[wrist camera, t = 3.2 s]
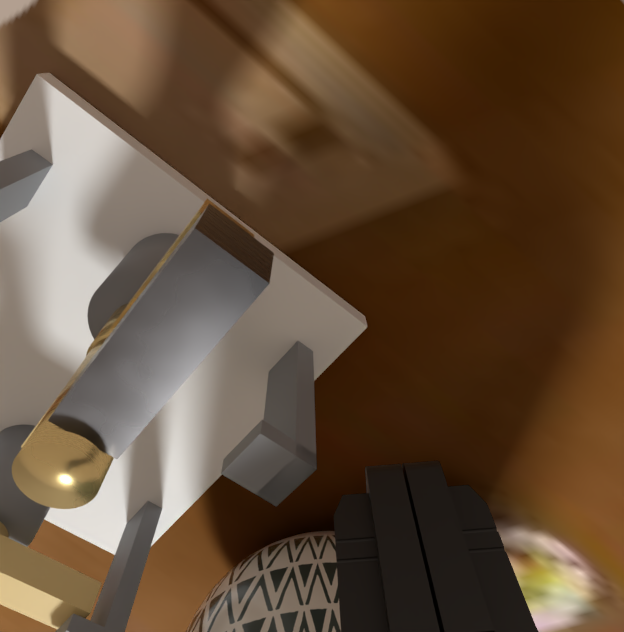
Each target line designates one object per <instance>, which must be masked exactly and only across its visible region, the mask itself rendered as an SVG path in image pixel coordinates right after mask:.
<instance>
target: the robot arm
mask: <svg viewBox="0 0 624 632" xmlns="http://www.w3.org/2000/svg"><path fill="white" fill-rule="evenodd" d="M365 475H366V491H367V493H363V494H351V495H342V498H341V500H340V502H339V505H338V507H337V509H336V512H335V514H334V530H335V546H336V561H337V577H338V592H339V607H340V623H341V632H538V630H537V628H536V626H535V623H534V621H533V618H532V616H531V613H530V611H529V608H528V606H527V603H526V601H525V598H524V596H523V593H522V591H521V588H520V586H519V583H518V581H517V578H516V576H515V573H514V571H513V568H512V566H511V563H510V561H509V558H508V556H507V553H506V552H505V551H504V546H503V543H502V541H501V538H500V536H499V533H498V532H497V530H496V526H495V523H494V520H493V518H492V515H491V513H490V510H489V508H488V505H487V504H486V503H485V502H484V500H483V499H482V498H481V497H480V496H479V495H478V494H477V493H476V492H475V491H474V490H473V489H472V488H471V487H470V486H469V485H463V486H450V487H448V486H447V483H446V479H445V476H444V473H443V470H442V467H441V465H440V462H439V461H427V462H415V463H403V464H402V467H401V464H392V465H379V466H367V467H365Z"/></svg>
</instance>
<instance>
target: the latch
mask: <svg viewBox="0 0 624 632" xmlns="http://www.w3.org/2000/svg"><path fill="white" fill-rule="evenodd" d="M273 256H274V253H273V252H272V251H271V250H270V249H268V248H267V247H266V246H264V245H263V244H262V243H260V242H259V241H258V240H256V239H255V238H254V234H253V233H251V232H250V231H249V230H248V229H246V228H245V227H244V226H242V225H241V224H240V223H238V222H237V221H236V220H235V219H233V218H232V217H231V216H229V215H228V214H227V213H225V212H224V211H223V210H222V209H220V208H219V207H218V206H216V205H215V204H214V203H212V202H211V201H210V200H209V199H206V200H205V202H204V203H203V204H202V206H201V207H200V208H199V210H198V211H197V212H196V214H195V215H194V216H193V218H192V219H191V220H190V222H189V223H188V224H187V226H186V227H185V228H184V230H183V231H182V232H181V234H180V235H179V236H178V238H177V239H176V240H175V242H174V243H173V244H172V246H171V247H170V248H169V249H168V251H167V252H166V253H165V255H164V256H163V257H162V259H161V260H160V261H159V263H158V264H157V265H156V267H155V268H154V269H153V271H152V272H151V273H150V275H149V276H148V277H147V279H146V280H145V281H144V283H143V284H142V285H141V287H140V288H139V289H138V291H137V292H136V293H135V294H134V296H133V297H132V298H131V300H130V301H129V302H128V303H127V304H124V305H122V306H120V307H119V308H118V309H116V310H115V312H114V313H113V314H112V316H111V317H110V318H109V320H108V321H107V323H106V324H105V325H104V327H103V328H102V330H101V331H100V332H99V334H98V335H97V337H96V338H95V339H94V341H93V342H92V344H91V345H90V347H89V348H88V351H87V354H86V357H85V359H84V360H83V362H82V363H81V365H80V366H79V367H78V369H77V370H76V372H75V373H74V375H73V376H72V377H71V379H70V380H69V382H68V383H67V385H66V386H65V387H64V388H63V390H62V391H61V392H60V394H59V395H58V396H57V398H56V399H55V400H54V402H53V403H52V404H51V406H50V407H49V408H48V410H47V411H46V412H45V414H44V415H43V416H42V418H41V419H40V420H39V422H38V423H37V424H36V426H35V427H34V429H33V430H32V432H31V433H30V434H29V436H28V437H27V439H26V440H25V441H24V443H23V444H22V446H21V447H22V449H21V450H20V452H19V453H18V454H17V456H16V457H15V459H14V461H13V464H12V476H13V479H14V481H15V483H16V485H17V487H18V488H19V489H20V490H21V491H22V493H24V494H25V495H26V496H27V497H28V498H30V499H31V500H33V501H35V502H37V503H39V504H41V505H44V506H47V507H51V508H56V509H73V508H77V507H81V506H83V505H85V504H87V503H89V502H90V501H92V500H93V499H94V498H95V496H96V495H97V494H98V491H99V489H100V487H101V485H102V483H103V481H104V479H105V476H106V474H107V472H108V470H109V468H110V466H111V463H112V461H113V459H114V458H115V459H118V458H119V457H120V456H121V455H122V453H123V452H124V451H125V450H126V449H127V448H128V447H129V445H130V444H131V443H132V442H133V441H134V440H135V438H136V437H137V436H138V435H139V434H140V433H141V431H142V430H143V429H144V428H145V427H146V426H147V425H148V423H149V422H150V421H151V420H152V419H153V418H154V416H155V415H156V414H157V413H158V412H159V411H160V410H161V408H162V407H163V406H164V405H165V404H166V403H167V401H168V400H169V399H170V398H171V397H172V396H173V395H174V393H175V392H176V391H177V390H178V389H179V388H180V386H181V385H182V384H183V383H184V382H185V381H186V379H187V378H188V377H189V376H190V375H191V374H192V373H193V371H194V370H195V369H196V368H197V367H198V366H199V364H200V363H201V362H202V361H203V360H204V359H205V358H206V356H207V355H208V354H209V353H210V352H211V351H212V349H213V348H214V347H215V346H216V345H217V344H218V343H219V341H220V340H221V339H222V338H223V337H224V336H225V334H226V333H227V332H228V331H229V330H230V329H231V327H232V326H233V325H234V324H235V323H236V322H237V321H238V319H239V318H240V317H241V316H242V315H243V314H244V312H245V311H246V310H247V309H248V308H249V307H250V306H251V304H252V303H253V302H254V301H255V300H256V299H257V297H258V296H259V295H260V294H261V293H262V292H263V290H264V289H265V288H266V287H267V286H268V285H269V284H270V277H271V270H272V263H273Z"/></svg>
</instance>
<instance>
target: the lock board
mask: <svg viewBox="0 0 624 632" xmlns="http://www.w3.org/2000/svg"><path fill="white" fill-rule="evenodd" d="M206 199H209V200H210V201H211V202H212V203H214V204H215V205H216V206H218V207H219V208H220V209H222V210H223V211H224V212H225V213H227V214H228V215H229V216H231V217H232V218H233V219H235V220H236V221H237V222H238V223H240V224H241V225H242V226H244V227H245V228H246V229H248V230H249V231H250V232H251V233H253V234H254V238H255V239H256V240H258V241H259V242H260V243H262V244H263V245H264V246H266V247H267V248H268V249H270V250H271V251H272V252H273V253H274V256H273V263H272V270H271V277H270V284H269V285H268V286H267V287H266V288H265V289H264V290H263V292H262V293H261V294H260V295H259V296H258V297H257V299H256V300H255V301H254V302H253V303H252V304H251V306H250V307H249V308H248V309H247V310H246V311H245V312H244V314H243V315H242V316H241V317H240V318H239V319H238V321H237V322H236V323H235V324H234V325H233V326H232V327H231V329H230V330H229V331H228V332H227V333H226V334H225V336H224V337H223V338H222V339H221V340H220V341H219V343H218V344H217V345H216V346H215V347H214V348H213V349H212V351H211V352H210V353H209V354H208V355H207V356H206V358H205V359H204V360H203V361H202V362H201V363H200V364H199V366H198V367H197V368H196V369H195V370H194V371H193V373H192V374H191V375H190V376H189V377H188V378H187V379H186V381H185V382H184V383H183V384H182V385H181V386H180V388H179V389H178V390H177V391H176V392H175V393H174V395H173V396H172V397H171V398H170V399H169V400H168V401H167V403H166V404H165V405H164V406H163V407H162V408H161V410H160V411H159V412H158V413H157V414H156V415H155V416H154V418H153V419H152V420H151V421H150V422H149V423H148V425H147V426H146V427H145V428H144V429H143V430H142V431H141V433H140V434H139V435H138V436H137V437H136V438H135V440H134V441H133V442H132V443H131V444H130V445H129V447H128V448H127V449H126V450H125V451H124V452H123V453H122V455H121V456H120V457H119V458H118V459H115V458H114V459H113V461H112V463H111V466H110V468H109V470H108V472H107V474H106V476H105V479H104V481H103V483H102V485H101V487H100V489H99V491H98V494H97V495H96V496H95V498H94V499H93V500H92V501H90V502H89V503H87V504H85V505H83V506H81V507H77V508H73V509H56V508H51V507H47V506H44V505H41V504H39V503H37V502H35V501H33V500H31V499H30V498H28V497H27V496H26V495H25V494H24V493H22V491H21V490H20V489H19V488H18V487H17V485H16V483H15V481H14V479H13V476H12V464H13V461H14V459H15V457H16V456H17V454H18V453H19V452H20V450H21V449H22V447H21V446H22V444H23V443H24V441H25V440H26V439H27V437H28V436H29V434H30V433H31V432H32V430H33V429H34V427H35V426H36V424H37V423H38V422H39V420H40V419H41V418H42V416H43V415H44V414H45V412H46V411H47V410H48V408H49V407H50V406H51V404H52V403H53V402H54V400H55V399H56V398H57V396H58V395H59V394H60V392H61V391H62V390H63V388H64V387H65V386H66V385H67V383H68V382H69V380H70V379H71V377H72V376H73V375H74V373H75V372H76V370H77V369H78V367H79V366H80V365H81V363H82V362H83V360H84V359H85V357H86V354H87V351H88V348H89V347H90V345H91V344H92V342H93V341H94V339H95V338H96V337H97V335H98V334H99V332H100V331H101V330H102V328H103V327H104V325H105V324H106V323H107V321H108V320H109V318H110V317H111V316H112V314H113V313H114V312H115V310H116V309H118V308H119V307H120V306H122V305H124V304H127V303H128V302H129V301H130V300H131V298H132V297H133V296H134V294H135V293H136V292H137V291H138V289H139V288H140V287H141V285H142V284H143V283H144V281H145V280H146V279H147V277H148V276H149V275H150V273H151V272H152V271H153V269H154V268H155V267H156V265H157V264H158V263H159V261H160V260H161V259H162V257H163V256H164V255H165V253H166V252H167V251H168V249H169V248H170V247H171V246H172V244H173V243H174V242H175V240H176V239H177V238H178V236H179V235H180V234H181V232H182V231H183V230H184V228H185V227H186V226H187V224H188V223H189V222H190V220H191V219H192V218H193V216H194V215H195V214H196V212H197V211H198V210H199V208H200V207H201V206H202V204H203V203H204V202H205V200H206ZM366 328H367V322H366V318H365V316H364V315H363V314H362V313H360V312H359V311H358V310H356V309H355V308H354V307H352V306H351V305H350V304H349V303H347V302H346V301H345V300H343V299H342V298H341V297H340V296H338V295H337V294H336V293H334V292H333V291H332V290H330V289H329V288H328V287H327V286H325V285H324V284H323V283H321V282H320V281H319V280H317V279H316V278H315V277H314V276H312V275H311V274H310V273H308V272H307V271H306V270H305V269H303V268H302V267H301V266H299V265H298V264H297V263H295V262H294V261H293V260H292V259H290V258H289V257H288V256H286V255H285V254H284V253H282V252H281V251H280V250H279V249H277V248H276V247H275V246H273V245H272V244H271V243H269V242H268V241H267V240H266V239H264V238H263V237H262V236H260V235H259V234H258V233H257V232H255V231H254V230H253V229H251V228H250V227H249V226H247V225H246V224H245V223H244V222H242V221H241V220H240V219H238V218H237V217H236V216H234V215H233V214H232V213H231V212H229V211H228V210H227V209H225V208H224V207H223V206H222V205H220V204H219V203H218V202H216V201H215V200H214V199H212V198H211V197H210V196H209V195H207V194H206V193H205V192H203V191H202V190H201V189H199V188H198V187H197V186H196V185H194V184H193V183H192V182H190V181H189V180H188V179H187V178H185V177H184V176H183V175H181V174H180V173H179V172H177V171H176V170H175V169H174V168H172V167H171V166H170V165H168V164H167V163H166V162H164V161H163V160H162V159H161V158H159V157H158V156H157V155H155V154H154V153H153V152H151V151H150V150H149V149H148V148H146V147H145V146H144V145H142V144H141V143H140V142H139V141H137V140H136V139H135V138H133V137H132V136H131V135H129V134H128V133H127V132H126V131H124V130H123V129H122V128H120V127H119V126H118V125H116V124H115V123H114V122H113V121H111V120H110V119H109V118H107V117H106V116H105V115H104V114H102V113H101V112H100V111H98V110H97V109H96V108H94V107H93V106H92V105H91V104H89V103H88V102H87V101H85V100H84V99H83V98H81V97H80V96H79V95H78V94H76V93H75V92H74V91H72V90H71V89H70V88H69V87H67V86H66V85H65V84H63V83H62V82H61V81H59V80H58V79H57V78H56V77H54V76H53V75H52V74H50V73H42V74H36V76H35V78H34V80H33V82H32V83H31V85H30V87H29V89H28V90H27V92H26V94H25V96H24V98H23V99H22V101H21V103H20V105H19V106H18V108H17V110H16V112H15V114H14V115H13V117H12V119H11V121H10V123H9V124H8V126H7V128H6V130H5V131H4V133H3V135H2V137H1V139H0V604H1V605H3V606H5V607H8V608H10V609H12V610H15V611H17V612H19V613H21V614H24V615H26V616H28V617H30V618H33V619H35V620H37V621H40V622H42V623H44V624H46V625H49V626H51V627H53V628H55V629H58V630H57V631H56V632H125V629H126V626H127V622H128V619H129V616H130V613H131V609H132V606H133V603H134V599H135V596H136V593H137V590H138V586H139V583H140V580H141V577H142V573H143V570H144V567H145V563H146V560H147V557H148V554H149V550H150V547H151V546H152V545H153V544H154V543H155V542H156V541H157V540H158V539H159V538H160V537H161V536H162V535H163V534H164V533H165V532H166V531H167V530H168V529H169V528H170V527H171V526H172V525H173V524H174V522H175V521H176V520H177V519H178V518H179V517H180V516H181V515H182V514H183V513H184V512H185V511H186V510H187V509H188V508H189V507H190V506H191V505H192V504H193V503H194V502H195V501H196V500H197V499H198V498H199V497H200V496H201V495H202V494H203V493H204V492H205V491H206V490H207V489H208V488H209V487H210V486H211V485H212V484H213V483H214V482H215V481H216V480H217V479H218V478H219V477H220V476H221V475H224V476H225V477H227V478H229V479H231V480H232V481H234V482H236V483H237V484H239V485H241V486H242V487H244V488H246V489H247V490H249V491H251V492H253V493H254V494H256V495H258V496H259V497H261V498H263V499H264V500H266V501H268V502H269V503H271V504H273V505H274V506H278V505H279V504H280V503H281V502H282V501H283V500H284V499H285V498H286V497H287V496H288V495H289V494H290V493H292V492H293V491H294V490H295V489H296V488H297V487H298V486H299V485H300V484H301V483H302V482H303V481H305V480H306V479H307V478H308V477H309V476H310V475H311V474H312V473H313V472H314V471H315V470H316V469H317V461H316V428H315V396H314V381H315V380H316V379H317V378H318V377H319V376H320V375H321V374H322V373H323V372H324V371H325V370H326V369H327V368H328V367H329V366H330V365H331V364H332V363H333V361H334V360H335V359H336V358H337V357H338V356H339V355H340V354H341V353H342V352H343V351H344V350H345V349H346V348H347V347H348V346H349V345H350V344H351V343H352V342H353V341H354V340H355V339H356V338H357V337H358V336H359V335H360V334H361V333H362V332H363V331H364V330H365V329H366ZM44 519H45V520H47V521H49V522H51V523H53V524H55V525H57V526H59V527H61V528H63V529H65V530H67V531H69V532H71V533H73V534H74V535H76V536H78V537H80V538H82V539H84V540H86V541H88V542H90V543H92V544H94V545H96V546H98V547H100V548H102V549H104V550H106V551H108V552H110V553H112V554H114V555H115V556H114V559H113V561H112V564H111V567H110V569H109V572H108V575H107V577H106V580H105V583H104V586H103V588H102V591H101V594H100V596H99V599H98V602H97V604H96V607H95V610H94V612H93V615H92V618H91V621H89V620H87V619H85V618H86V617H87V616H88V615H89V614H90V613H91V610H92V608H93V605H94V602H95V600H96V597H97V594H98V592H99V589H100V586H101V584H102V583H101V582H99V581H97V580H95V579H93V578H91V577H88V576H86V575H84V574H82V573H80V572H78V571H76V570H74V569H72V568H70V567H68V566H66V565H64V564H61V563H59V562H57V561H55V560H53V559H51V558H49V557H47V556H45V555H43V554H41V553H39V552H36V551H34V550H32V549H30V548H28V547H27V546H28V545H29V544H30V543H31V542H32V540H33V538H34V537H35V535H36V533H37V531H38V529H39V528H40V526H41V524H42V522H43V520H44Z"/></svg>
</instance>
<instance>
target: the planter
mask: <svg viewBox="0 0 624 632" xmlns="http://www.w3.org/2000/svg"><path fill="white" fill-rule="evenodd" d="M186 632H341V623H340V607H339V592H338V577H337V561H336V546H335V531H317V532H309V533H303V534H298V535H294V536H291V537H288V538H285V539H282V540H279V541H277V542H274V543H272V544H270V545H268V546H266V547H264V548H262V549H260V550H258V551H257V552H255V553H253V554H252V555H250V556H248V557H247V558H246V559H244V560H243V561H241V562H240V563H239V564H238V565H236V566H235V567H234V568H233V569H232V570H230V571H229V572H228V573H227V574H226V575H225V576H224V577H223V578H222V579H221V580H220V581H219V582H218V583H217V584H216V585H215V586H214V588H213V589H212V590H211V591H210V592H209V594H208V595H207V597H206V598H205V600H204V601H203V603H202V604H201V606H200V607H199V609H198V610H197V612H196V613H195V615H194V617H193V619H192V621H191V623H190V624H189V626H188V628H187V630H186Z"/></svg>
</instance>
